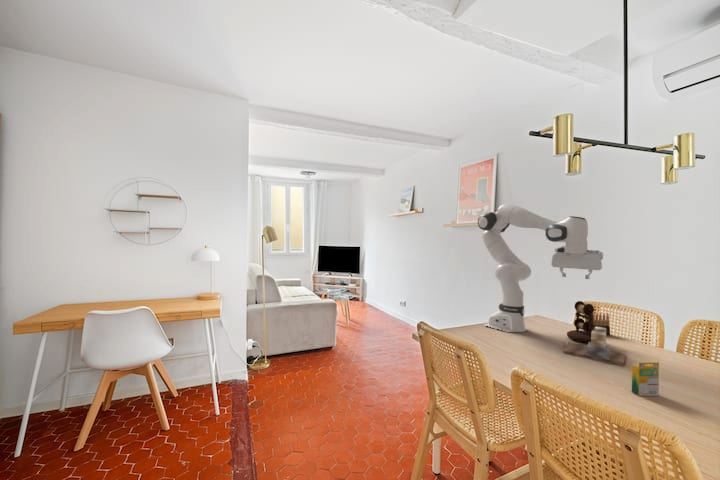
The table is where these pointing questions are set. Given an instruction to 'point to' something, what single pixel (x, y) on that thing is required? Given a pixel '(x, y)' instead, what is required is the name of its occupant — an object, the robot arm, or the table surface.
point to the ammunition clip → (602, 322)
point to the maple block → (598, 339)
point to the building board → (583, 353)
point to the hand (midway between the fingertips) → (575, 277)
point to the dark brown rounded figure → (580, 323)
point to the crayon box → (645, 379)
